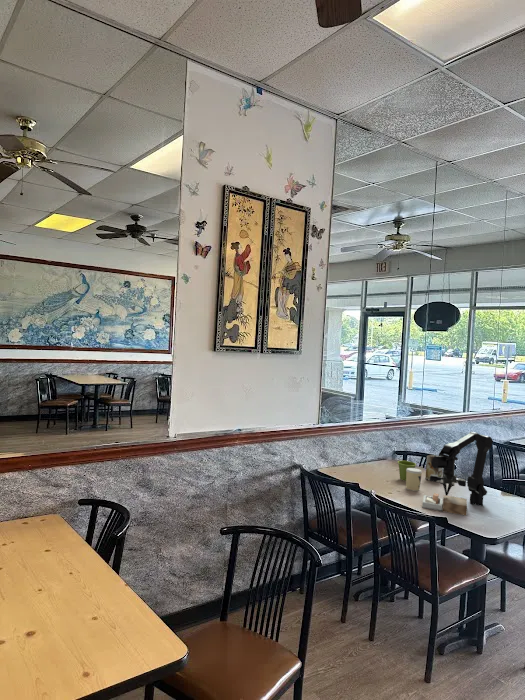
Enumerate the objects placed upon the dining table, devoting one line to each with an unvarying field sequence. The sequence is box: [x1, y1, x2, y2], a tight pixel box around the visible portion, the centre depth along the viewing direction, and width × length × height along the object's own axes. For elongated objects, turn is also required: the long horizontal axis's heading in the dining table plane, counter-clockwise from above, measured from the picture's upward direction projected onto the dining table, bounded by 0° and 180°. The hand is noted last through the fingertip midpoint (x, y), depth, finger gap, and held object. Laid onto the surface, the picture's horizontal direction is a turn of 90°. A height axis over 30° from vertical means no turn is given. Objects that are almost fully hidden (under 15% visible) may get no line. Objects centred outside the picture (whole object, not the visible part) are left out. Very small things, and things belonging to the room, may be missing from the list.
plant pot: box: [397, 460, 417, 482], centre depth 322 cm, size 12×12×11 cm
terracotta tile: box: [432, 492, 440, 504], centre depth 275 cm, size 5×5×2 cm
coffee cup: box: [405, 468, 423, 492], centre depth 302 cm, size 9×9×12 cm
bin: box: [421, 494, 443, 512], centre depth 273 cm, size 10×14×3 cm
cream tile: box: [425, 497, 436, 504], centre depth 271 cm, size 5×5×2 cm
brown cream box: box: [441, 494, 468, 516], centre depth 269 cm, size 12×14×5 cm
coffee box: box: [424, 454, 443, 483], centre depth 326 cm, size 9×6×16 cm
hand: (446, 495), depth 273 cm, fingers closed
